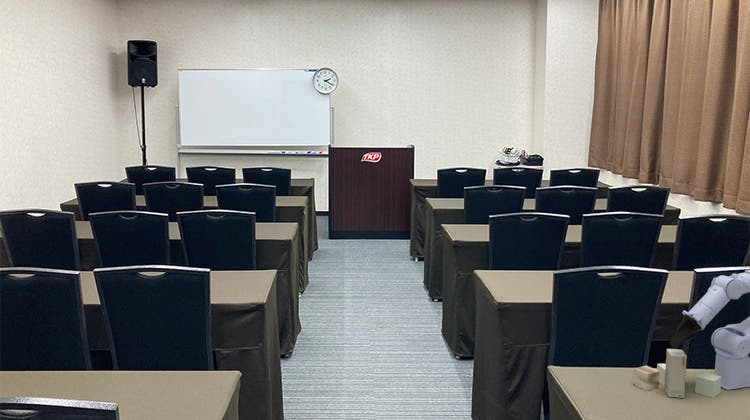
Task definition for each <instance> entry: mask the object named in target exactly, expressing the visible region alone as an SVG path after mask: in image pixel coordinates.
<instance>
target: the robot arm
mask: <svg viewBox="0 0 750 420" xmlns="http://www.w3.org/2000/svg"><path fill="white" fill-rule="evenodd" d="M748 293H750V269H747V270H744V272H740V273H732V274H731V275H729V276H728V275H719V276H717V277H713V279H712V281H711V284H710V286H709V288H708V289H707V292H706V293H705V294H704V295H703V296H702V297H701V298H700V299H699V300H698V302H696V304H694V306H693V307H692V308H691V309H690V310H689V311H686V310H683V311H682V312H681V313H682V315H683V317H682V321H681V322H679V323H678V326H677V329H676V331H675V333H674V335H673V337H672V338H671V339H670V340H669V345H670V346H671V347H672V349H678V347H680V346H682V345H683V344H684V343H685V342H687V341H689V340H692V339H695V338H696V337H697V336H698V334H696V333H697V332H699V331H703V330H704V329H705V328H706V326H707V325H708V324H709V323H710V322H711V321H712V320H713V319H714V318H715V316H717V314H718V313H719V312H720V311H721V310H722V309H723V308H724V307H725V306H726V305H727V304H728V302H730V301H731V300H738V299H739V298H741V296H742V295H744V294H748ZM710 342H711V345H712V346H713V347H714V352H716V354H715V366H714V375H718V376H721V388H723V389H725V390H727V391H729V390H736V389H742V388H748V387H749V388H750V356H749V354H750V316H748V317H747V318H746V319H744V320H742V321H741V322H740V323H735V324H734V323H732V324H727V325H726V326H724V327H719V328H717V329H715V330H714V332H713V333H712V334H711V338H710Z"/></svg>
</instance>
